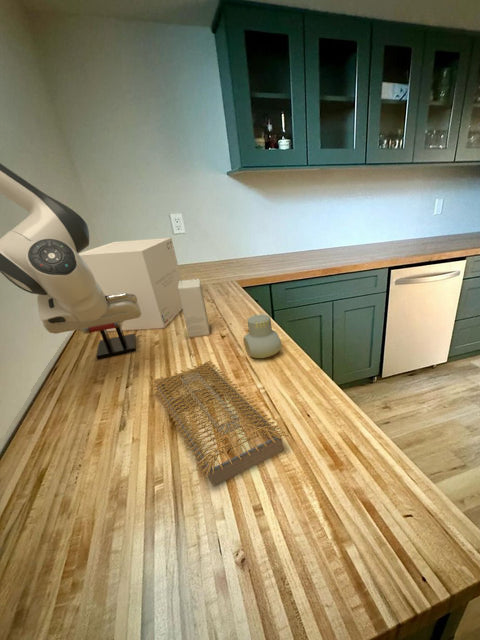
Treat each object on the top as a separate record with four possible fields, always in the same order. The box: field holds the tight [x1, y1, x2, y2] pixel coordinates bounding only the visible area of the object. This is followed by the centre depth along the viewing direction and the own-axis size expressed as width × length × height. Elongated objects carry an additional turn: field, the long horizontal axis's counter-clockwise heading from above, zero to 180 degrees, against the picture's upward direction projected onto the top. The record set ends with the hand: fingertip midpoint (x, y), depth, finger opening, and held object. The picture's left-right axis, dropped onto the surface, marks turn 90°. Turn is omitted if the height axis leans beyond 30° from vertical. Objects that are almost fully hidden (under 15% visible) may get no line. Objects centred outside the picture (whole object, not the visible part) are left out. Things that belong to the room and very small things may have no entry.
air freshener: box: [242, 313, 283, 359], centre depth 88 cm, size 11×8×10 cm
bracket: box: [96, 327, 137, 361], centre depth 97 cm, size 12×10×14 cm
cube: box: [78, 237, 183, 332], centre depth 117 cm, size 25×21×24 cm
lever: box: [89, 323, 116, 333], centre depth 90 cm, size 13×6×2 cm, turn 24°
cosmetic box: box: [178, 278, 210, 338], centre depth 103 cm, size 8×7×16 cm
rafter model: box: [148, 360, 290, 487], centre depth 65 cm, size 35×14×6 cm, turn 34°
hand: (103, 327), depth 87 cm, fingers closed on lever, 6 cm apart
